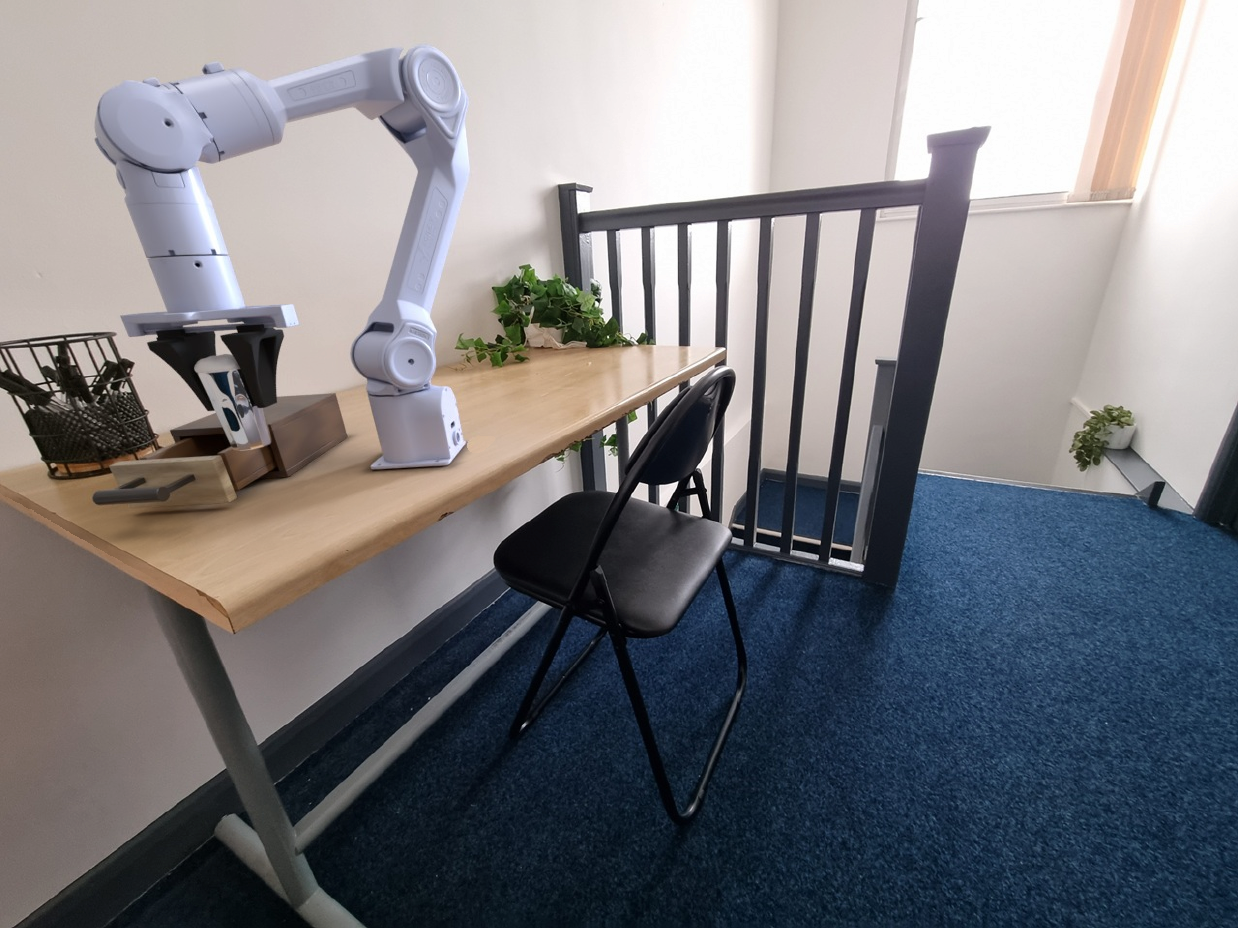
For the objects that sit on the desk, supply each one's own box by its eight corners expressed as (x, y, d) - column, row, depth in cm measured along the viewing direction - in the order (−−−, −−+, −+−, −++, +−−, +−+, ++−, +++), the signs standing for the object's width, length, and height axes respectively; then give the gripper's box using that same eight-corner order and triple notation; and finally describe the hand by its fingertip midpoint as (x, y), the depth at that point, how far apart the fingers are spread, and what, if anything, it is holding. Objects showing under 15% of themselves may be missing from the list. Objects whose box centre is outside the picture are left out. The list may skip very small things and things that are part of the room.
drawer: (194, 525, 47) (173, 478, 45) (84, 531, 47) (59, 485, 45) (304, 455, 63) (293, 419, 62) (223, 460, 63) (209, 424, 62)
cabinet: (288, 477, 59) (270, 424, 57) (191, 482, 59) (169, 430, 57) (347, 437, 73) (335, 393, 70) (269, 441, 73) (254, 397, 70)
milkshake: (295, 435, 52) (265, 338, 49) (256, 453, 48) (219, 347, 44) (255, 435, 53) (223, 340, 49) (213, 454, 48) (173, 349, 44)
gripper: (61, 262, 40) (133, 423, 45) (240, 251, 40) (291, 413, 45) (138, 262, 46) (193, 403, 52) (292, 253, 46) (331, 394, 52)
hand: (242, 407), depth 49 cm, fingers closed on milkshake, 4 cm apart
